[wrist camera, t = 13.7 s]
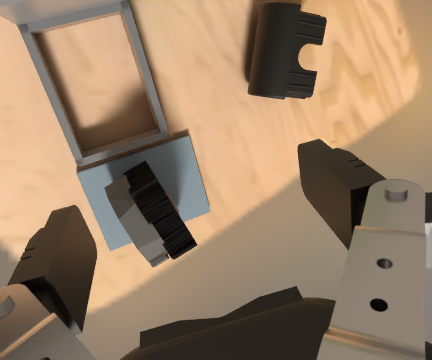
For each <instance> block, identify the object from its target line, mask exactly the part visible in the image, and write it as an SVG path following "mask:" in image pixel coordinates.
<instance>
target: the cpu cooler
mask: <svg viewBox="0 0 432 360" xmlns="http://www.w3.org/2000/svg"><path fill="white" fill-rule="evenodd" d="M104 188H105V191H106V194H107V198H108V200H109V202H110V204H111V206H112V208H113V210H114V212H115V214H116V216H117V218H118V219H119V221H120V223H121V224H122V226H123V227H124V229H125V230H126V232H127V234H128V235H129V237H130V238H131V240H132V241H133V243H134V244H135V246H136V248H137V249H138V250H139V251H140V252H141V254H142V255H143V256H144V257H145V258H146V259H147V260H148V262H149V263H150V264H151V266H152V267H156V266H157V265H159V264H161V263H162V262H164V261H166V260H167V259H169V256H168V254H169V255H170V256H171V259H173V260H174V259H176V258H178V257H179V256H181V255H182V254H184V253H186V252H187V251H189V250H191V249H192V248H194V247H195V246H197V243H196V242H195V240H194V238H193V237H192V235H191V233H190V232H189V230H188V229H187V227H186V225H185V224H184V222H183V220H182V219H181V217H180V215H179V214H178V213H179V210H178V208H177V207H176V205H175V203H174V202H173V200H172V198H171V197H170V195H169V193H168V192H167V190H164V189H163V187H162V186H161V184H160V183H159V181H158V179H157V178H156V176H155V175H154V173H153V171H152V170H151V168H150V166H149V165H148V163H147V162H146V160H145V161H143V162H142V163H140V164H138V165H136V166H135V167H133V168H131V169H130V170H128V171H126V172H124V173H123V177H121V178H119V179H118V180H116V181H114V182H113V183H111V184H109V185H108V186H106V187H104Z"/></svg>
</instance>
